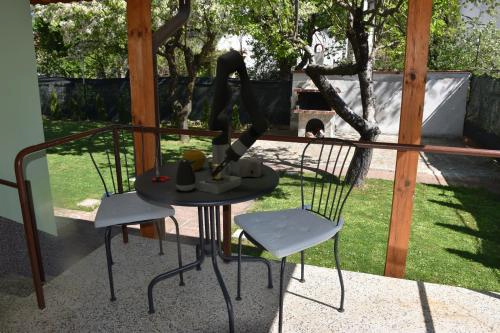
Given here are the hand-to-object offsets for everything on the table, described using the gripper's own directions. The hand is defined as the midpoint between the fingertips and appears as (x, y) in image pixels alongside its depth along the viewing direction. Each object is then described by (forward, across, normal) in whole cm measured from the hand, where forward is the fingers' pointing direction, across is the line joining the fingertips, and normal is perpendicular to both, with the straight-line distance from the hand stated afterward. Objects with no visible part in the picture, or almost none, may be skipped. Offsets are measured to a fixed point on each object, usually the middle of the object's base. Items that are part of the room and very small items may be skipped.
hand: (213, 174), depth 197 cm
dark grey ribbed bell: (+15, +2, -4) cm, 15 cm away
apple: (+19, -38, -8) cm, 43 cm away
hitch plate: (+3, -2, +7) cm, 8 cm away
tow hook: (+28, -16, -17) cm, 36 cm away
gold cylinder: (+4, 0, +6) cm, 8 cm away
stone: (-5, -25, +16) cm, 31 cm away
